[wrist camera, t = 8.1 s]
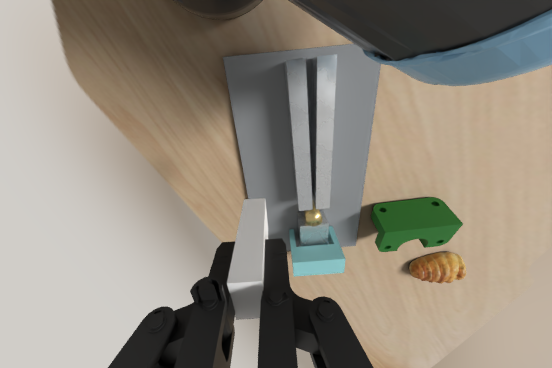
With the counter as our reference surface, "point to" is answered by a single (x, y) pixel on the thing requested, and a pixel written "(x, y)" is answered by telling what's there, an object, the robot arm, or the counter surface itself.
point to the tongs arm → (299, 130)
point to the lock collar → (317, 256)
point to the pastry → (438, 267)
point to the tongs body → (320, 150)
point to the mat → (277, 138)
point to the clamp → (414, 223)
